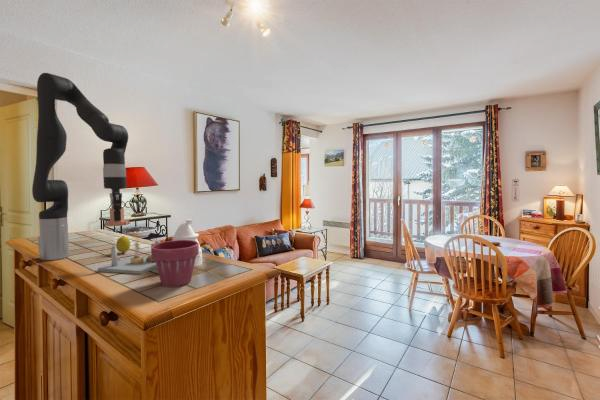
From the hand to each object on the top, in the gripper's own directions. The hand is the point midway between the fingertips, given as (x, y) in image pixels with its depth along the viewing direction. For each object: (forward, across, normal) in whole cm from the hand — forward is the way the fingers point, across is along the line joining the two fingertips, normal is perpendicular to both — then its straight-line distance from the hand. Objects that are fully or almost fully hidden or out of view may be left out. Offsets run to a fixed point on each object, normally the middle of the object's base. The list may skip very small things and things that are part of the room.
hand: (117, 219), depth 116 cm
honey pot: (+19, -13, -22) cm, 31 cm away
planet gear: (+2, 0, 0) cm, 2 cm away
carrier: (+18, -5, -6) cm, 20 cm away
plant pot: (+19, -33, -14) cm, 40 cm away
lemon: (+18, +21, -3) cm, 28 cm away
